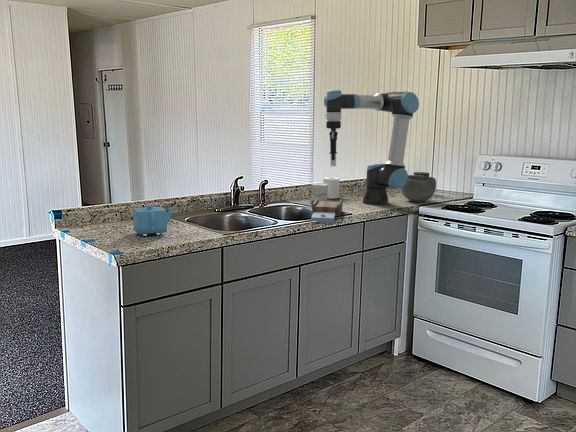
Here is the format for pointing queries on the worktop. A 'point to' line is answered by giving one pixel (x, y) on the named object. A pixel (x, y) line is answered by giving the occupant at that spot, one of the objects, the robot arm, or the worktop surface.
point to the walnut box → (327, 206)
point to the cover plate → (323, 217)
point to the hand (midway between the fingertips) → (333, 166)
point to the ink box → (319, 192)
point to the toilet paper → (332, 187)
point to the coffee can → (421, 174)
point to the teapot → (151, 219)
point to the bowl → (419, 188)
